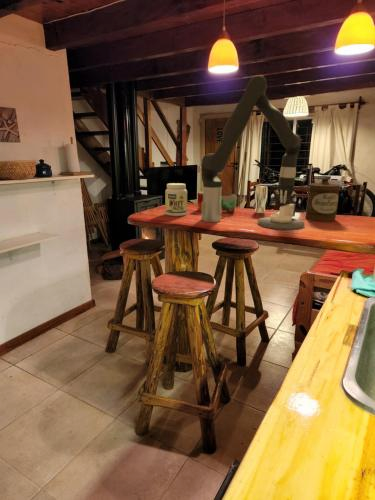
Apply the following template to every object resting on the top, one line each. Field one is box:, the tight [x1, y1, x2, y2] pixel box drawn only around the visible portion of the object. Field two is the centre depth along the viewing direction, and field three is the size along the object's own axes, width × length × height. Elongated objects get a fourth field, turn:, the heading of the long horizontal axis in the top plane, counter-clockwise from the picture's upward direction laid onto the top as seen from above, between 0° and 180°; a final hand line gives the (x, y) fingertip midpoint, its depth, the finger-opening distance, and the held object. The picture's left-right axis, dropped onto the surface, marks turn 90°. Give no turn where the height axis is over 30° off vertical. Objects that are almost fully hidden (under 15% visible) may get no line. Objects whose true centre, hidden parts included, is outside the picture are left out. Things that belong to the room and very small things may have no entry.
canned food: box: [197, 190, 203, 212], centre depth 190 cm, size 8×8×11 cm
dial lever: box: [270, 203, 297, 223], centre depth 158 cm, size 18×10×7 cm, turn 138°
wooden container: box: [305, 176, 341, 223], centre depth 167 cm, size 15×15×22 cm
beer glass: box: [254, 185, 268, 214], centre depth 184 cm, size 7×7×15 cm
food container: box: [221, 193, 238, 214], centre depth 184 cm, size 12×6×10 cm, turn 143°
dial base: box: [257, 216, 305, 231], centre depth 156 cm, size 22×22×2 cm
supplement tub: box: [164, 182, 188, 217], centre depth 177 cm, size 12×12×17 cm
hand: (282, 210), depth 164 cm, fingers closed
